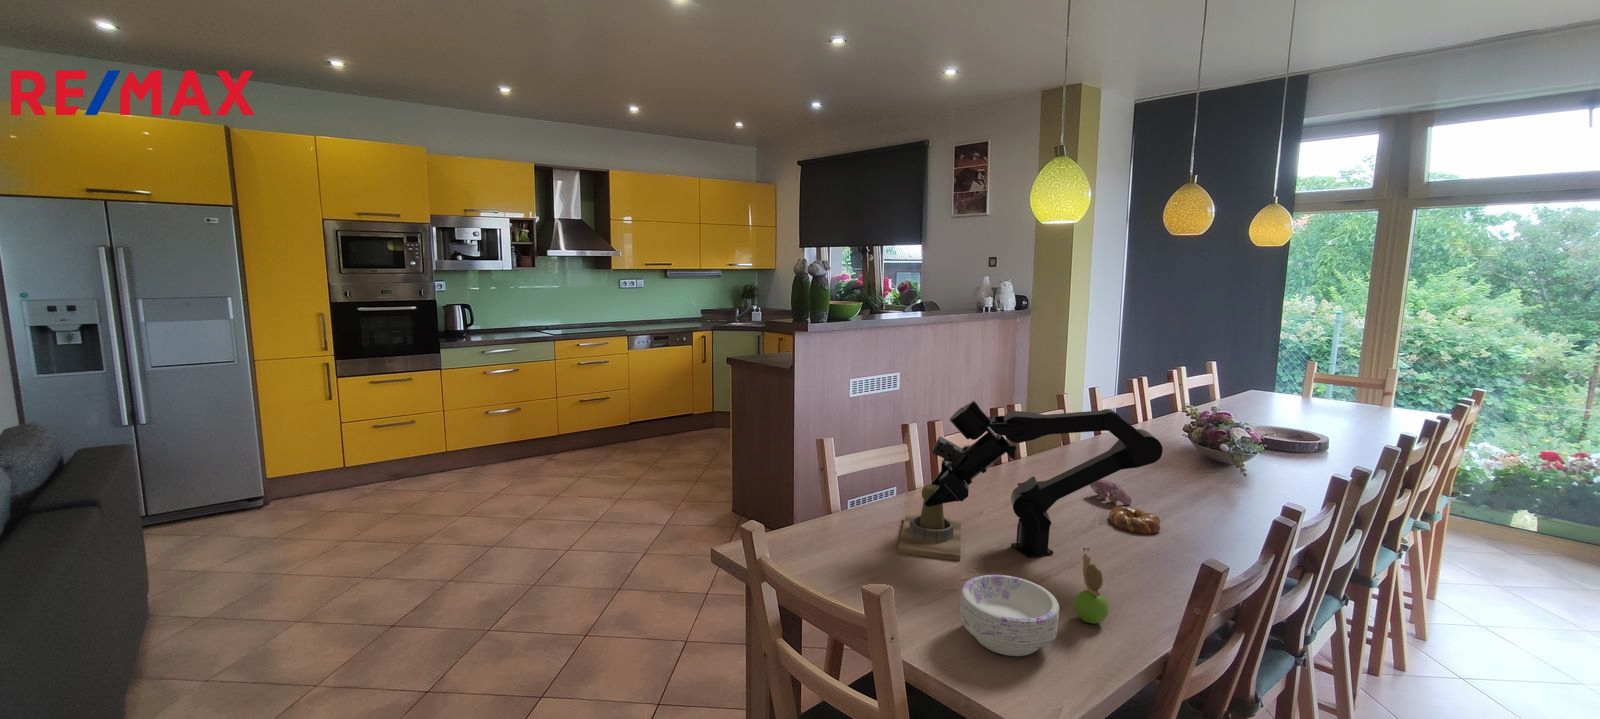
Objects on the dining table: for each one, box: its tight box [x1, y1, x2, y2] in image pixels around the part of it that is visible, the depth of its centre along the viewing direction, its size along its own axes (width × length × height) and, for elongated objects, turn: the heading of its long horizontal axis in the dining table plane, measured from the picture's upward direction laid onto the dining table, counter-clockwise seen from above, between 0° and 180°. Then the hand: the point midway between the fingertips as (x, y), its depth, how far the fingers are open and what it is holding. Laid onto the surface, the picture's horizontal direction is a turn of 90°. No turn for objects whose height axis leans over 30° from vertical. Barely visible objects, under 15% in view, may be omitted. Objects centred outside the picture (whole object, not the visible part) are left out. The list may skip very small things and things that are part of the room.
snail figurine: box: [1073, 547, 1109, 625], centre depth 114 cm, size 5×6×12 cm
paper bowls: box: [959, 574, 1060, 657], centre depth 107 cm, size 15×15×8 cm
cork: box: [919, 483, 945, 530], centre depth 148 cm, size 6×6×11 cm
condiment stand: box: [897, 514, 962, 562], centre depth 148 cm, size 20×13×4 cm, turn 166°
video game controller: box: [1089, 479, 1132, 506], centre depth 177 cm, size 10×5×7 cm, turn 26°
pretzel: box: [1108, 505, 1161, 535], centre depth 160 cm, size 12×11×4 cm
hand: (927, 498), depth 148 cm, fingers open, 9 cm apart
